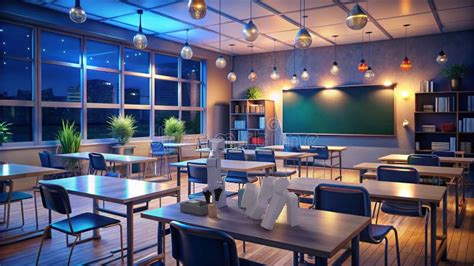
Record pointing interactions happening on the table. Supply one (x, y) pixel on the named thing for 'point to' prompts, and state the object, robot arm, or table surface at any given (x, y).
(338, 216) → the table surface
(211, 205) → the terracotta cylinder
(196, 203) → the sage cube
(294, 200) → the pile of blocks
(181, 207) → the tote
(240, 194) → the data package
